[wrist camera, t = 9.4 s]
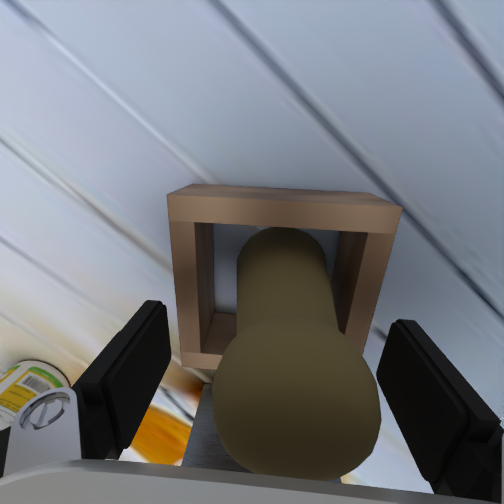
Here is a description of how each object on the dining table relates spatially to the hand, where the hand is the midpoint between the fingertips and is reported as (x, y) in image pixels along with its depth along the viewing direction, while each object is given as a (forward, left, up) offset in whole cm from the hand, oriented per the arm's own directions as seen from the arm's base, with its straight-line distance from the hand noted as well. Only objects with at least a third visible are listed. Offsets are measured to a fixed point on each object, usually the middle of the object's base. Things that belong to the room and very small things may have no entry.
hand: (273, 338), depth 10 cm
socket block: (0, 0, -7) cm, 7 cm away
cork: (-1, 0, -7) cm, 7 cm away
